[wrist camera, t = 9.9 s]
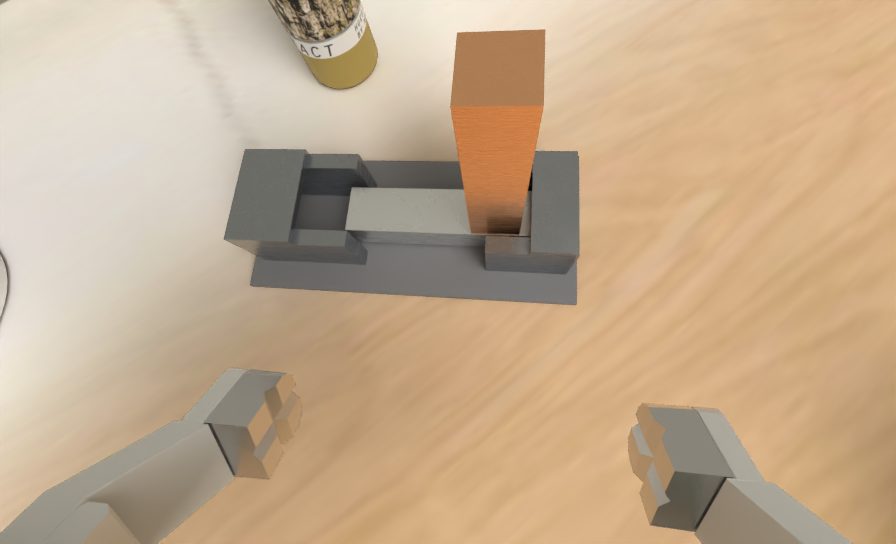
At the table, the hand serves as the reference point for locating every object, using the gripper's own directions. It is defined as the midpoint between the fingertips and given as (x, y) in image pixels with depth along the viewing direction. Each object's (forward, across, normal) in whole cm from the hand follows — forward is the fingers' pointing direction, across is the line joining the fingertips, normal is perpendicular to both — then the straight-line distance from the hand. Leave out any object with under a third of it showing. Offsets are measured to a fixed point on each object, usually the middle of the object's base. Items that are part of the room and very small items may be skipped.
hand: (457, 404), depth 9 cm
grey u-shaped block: (+23, +14, +6) cm, 28 cm away
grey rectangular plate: (+23, +6, +5) cm, 25 cm away
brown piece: (+23, +3, +5) cm, 24 cm away
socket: (+23, -3, +5) cm, 24 cm away
